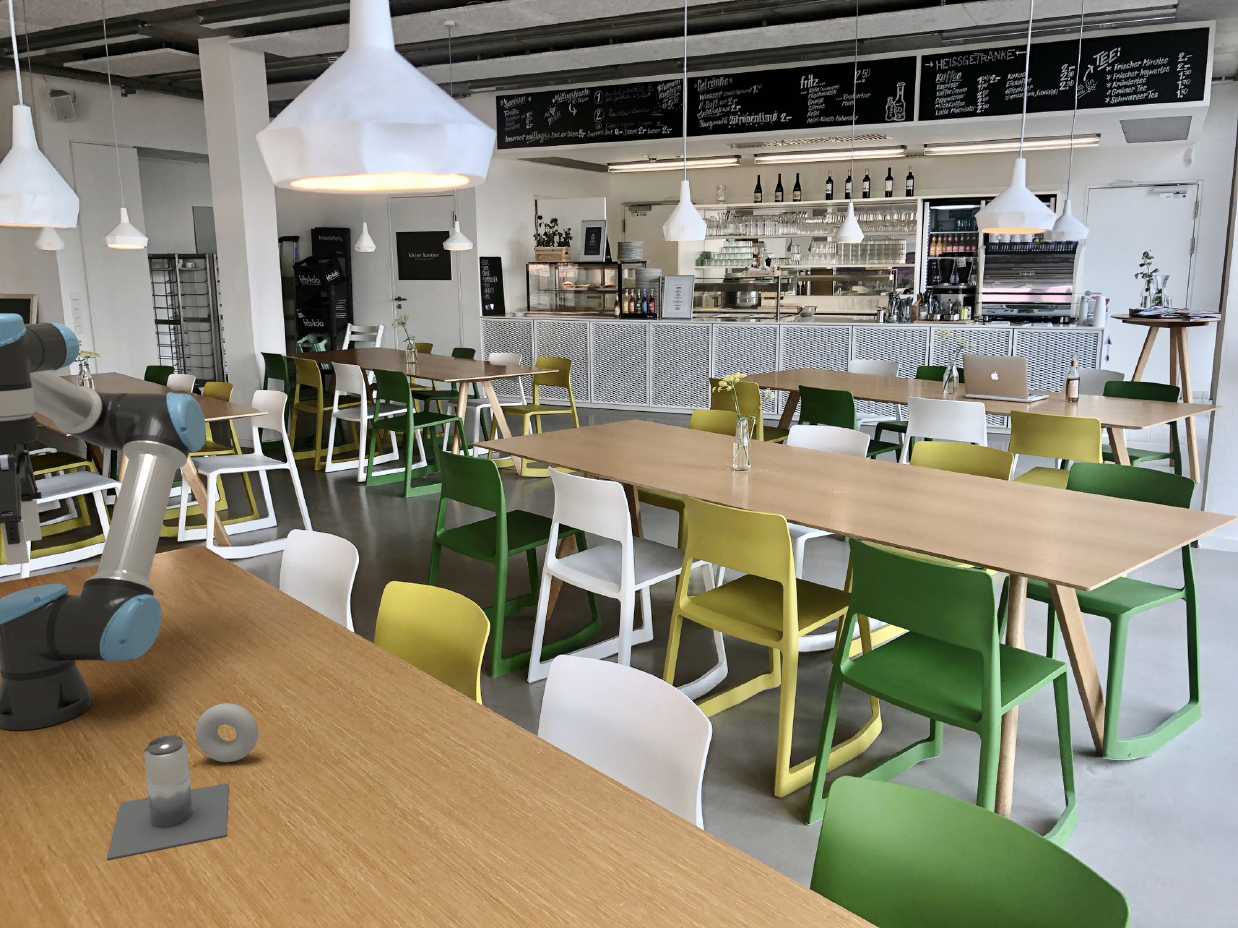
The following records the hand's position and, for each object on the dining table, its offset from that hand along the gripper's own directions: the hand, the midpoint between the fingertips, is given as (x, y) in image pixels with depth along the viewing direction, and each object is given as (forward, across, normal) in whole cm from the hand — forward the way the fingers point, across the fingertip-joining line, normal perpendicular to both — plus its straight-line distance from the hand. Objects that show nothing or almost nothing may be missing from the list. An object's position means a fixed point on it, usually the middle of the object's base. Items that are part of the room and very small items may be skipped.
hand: (25, 551), depth 144 cm
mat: (+36, +26, +18) cm, 48 cm away
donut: (+36, +11, +26) cm, 46 cm away
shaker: (+36, +26, +18) cm, 48 cm away
